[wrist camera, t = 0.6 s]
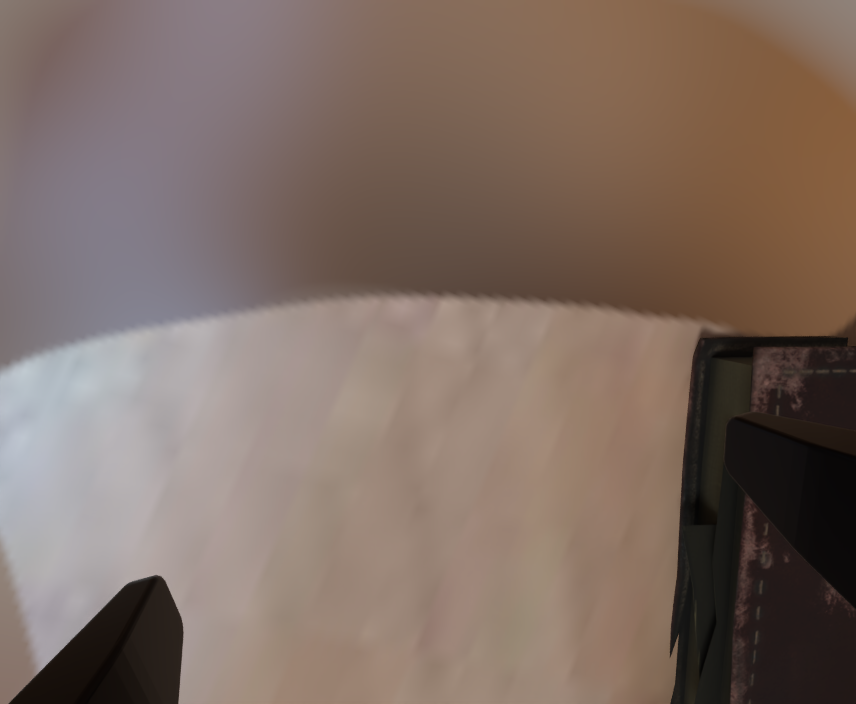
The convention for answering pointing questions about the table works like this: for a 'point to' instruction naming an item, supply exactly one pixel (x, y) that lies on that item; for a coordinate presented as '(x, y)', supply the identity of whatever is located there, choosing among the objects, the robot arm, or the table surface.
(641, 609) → the table surface
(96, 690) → the robot arm
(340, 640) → the table surface
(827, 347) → the diary
